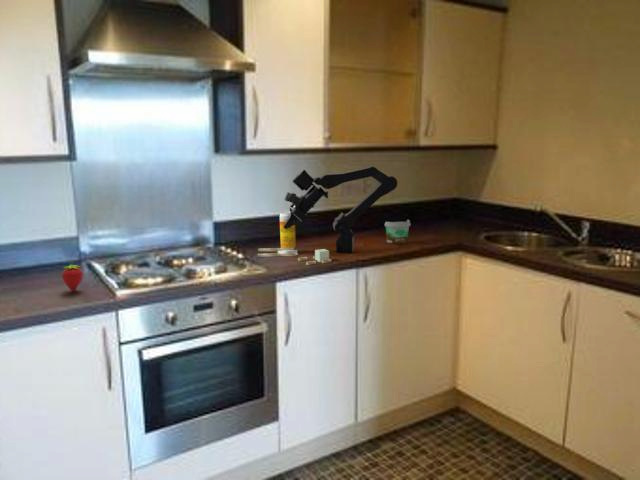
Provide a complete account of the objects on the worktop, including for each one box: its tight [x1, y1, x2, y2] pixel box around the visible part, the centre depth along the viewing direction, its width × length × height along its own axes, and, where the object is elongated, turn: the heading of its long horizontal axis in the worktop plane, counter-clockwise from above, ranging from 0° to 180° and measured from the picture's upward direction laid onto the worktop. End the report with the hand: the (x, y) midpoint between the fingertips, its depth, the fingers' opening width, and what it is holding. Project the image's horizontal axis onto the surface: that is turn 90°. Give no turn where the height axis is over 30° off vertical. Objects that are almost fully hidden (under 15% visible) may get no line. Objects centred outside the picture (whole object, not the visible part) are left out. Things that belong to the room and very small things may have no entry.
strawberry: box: [61, 262, 84, 293], centre depth 173 cm, size 6×8×10 cm
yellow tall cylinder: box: [279, 211, 297, 250], centre depth 225 cm, size 6×6×15 cm
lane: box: [257, 247, 296, 258], centre depth 226 cm, size 15×11×1 cm
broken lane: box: [297, 255, 332, 266], centre depth 212 cm, size 10×8×1 cm
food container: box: [384, 219, 411, 245], centre depth 243 cm, size 12×6×10 cm, turn 114°
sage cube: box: [314, 248, 330, 263], centre depth 213 cm, size 4×4×4 cm
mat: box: [277, 249, 299, 256], centre depth 226 cm, size 8×8×1 cm
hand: (284, 226), depth 224 cm, fingers closed on yellow tall cylinder, 6 cm apart
